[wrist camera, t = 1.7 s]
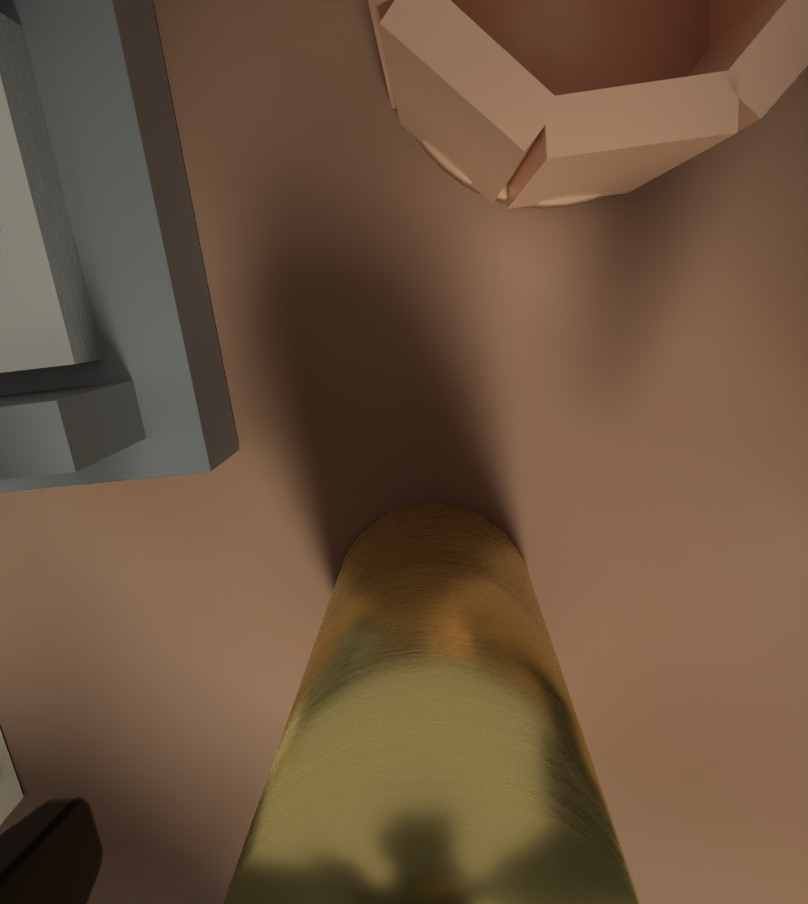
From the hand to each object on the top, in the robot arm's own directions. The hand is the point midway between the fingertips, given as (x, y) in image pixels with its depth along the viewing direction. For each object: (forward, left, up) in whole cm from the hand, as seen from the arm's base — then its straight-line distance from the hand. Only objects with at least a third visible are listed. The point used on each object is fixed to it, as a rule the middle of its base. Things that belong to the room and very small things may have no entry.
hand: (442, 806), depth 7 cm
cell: (0, 0, -5) cm, 5 cm away
